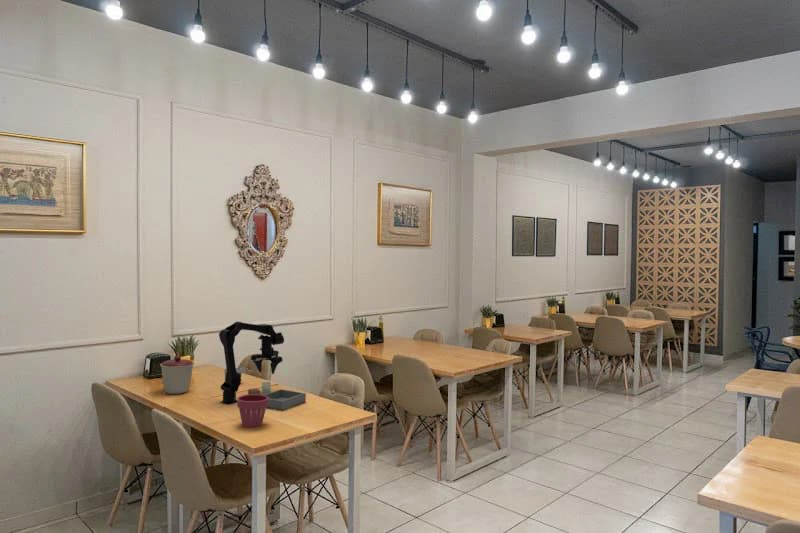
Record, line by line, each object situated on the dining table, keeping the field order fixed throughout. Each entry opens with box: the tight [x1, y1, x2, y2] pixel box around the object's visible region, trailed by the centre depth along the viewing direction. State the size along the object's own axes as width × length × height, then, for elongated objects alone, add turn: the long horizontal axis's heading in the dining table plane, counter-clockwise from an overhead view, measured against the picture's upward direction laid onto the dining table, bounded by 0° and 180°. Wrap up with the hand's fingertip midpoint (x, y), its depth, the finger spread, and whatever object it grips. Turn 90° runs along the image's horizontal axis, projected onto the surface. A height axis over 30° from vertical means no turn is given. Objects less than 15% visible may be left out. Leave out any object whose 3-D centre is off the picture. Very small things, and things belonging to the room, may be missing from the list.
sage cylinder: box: [261, 381, 272, 395], centre depth 311 cm, size 5×5×7 cm
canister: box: [159, 355, 195, 395], centre depth 311 cm, size 18×18×21 cm
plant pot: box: [236, 394, 269, 428], centre depth 256 cm, size 14×14×13 cm
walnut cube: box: [247, 387, 262, 395], centre depth 303 cm, size 5×5×5 cm
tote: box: [264, 388, 307, 412], centre depth 293 cm, size 20×17×5 cm
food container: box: [223, 365, 244, 377], centre depth 334 cm, size 12×6×10 cm, turn 143°
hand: (266, 373), depth 311 cm, fingers open, 9 cm apart
